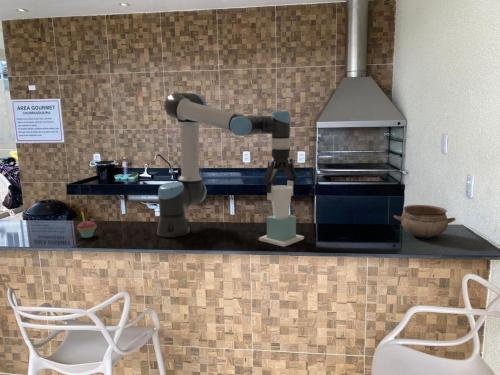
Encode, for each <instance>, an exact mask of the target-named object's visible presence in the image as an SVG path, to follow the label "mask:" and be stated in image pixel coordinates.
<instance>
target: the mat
mask: <svg viewBox="0 0 500 375" xmlns="http://www.w3.org/2000/svg"><path fill="white" fill-rule="evenodd" d="M304 239H305V235H300V234H296V236H295V237H293V238H290V239H287V240H285V241H281V240H277V239H272V238H268V237H267V234H265V235H262V236H259V237H258V241H260V242H264V243H268V244H273V245H277V246H278V247H279V246H280V247H283V248H284V247H287V246H289V245H292V244H294V243H295V244H296V243H298V242H300V241H302V240H304Z"/></svg>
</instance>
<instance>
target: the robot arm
mask: <svg viewBox="0 0 500 375" xmlns="http://www.w3.org/2000/svg"><path fill="white" fill-rule="evenodd" d="M163 106H164V110H165V113H166V114H167V115H168V116H169V117H170V118H173V119H177V123H178V125H180V160H181V161H180V167H181V168H180V169H181V170H180V174H181V175H180V176H179V177H178V178H177V180H178V181H171V182H165V183H162V185H160V186H159V187H158V189H157V190H158V193H157V196H158V207H159V220H158V222H157V228H156V235H157V236H159V237H162V238H175V237H176V238H178V237H182V236H186V235H188V234H189V233H190V226H189V223H188V220H187V218H186V212H185V209H186V208H189V207H192V206H196V205H198V204H201V203H202V202H203V201H204V200H205V198H206V196H207V192H208V191H207V190H208V189H207V187H206V185H205V183H204V182H203V177H202V176H200V144H199V143H200V126H201V124H203V125H208V126H209V127H213V128H218V129H221V130H224V131H227V132H231V133H233V135H236V136H241V137H243V136H250V135H251V136H252V135H265V134H266V135H271V147H272V149H271V157H272V158H273V160H268V162H267V168H266V170H265V175H264V177H263V180H262V184H263V185H265V186H266V193H267V194H266V200H267V201H269V202H270V201H271V202H272V201H273V186H274V184H273V183H274V181H275V180H276V178H277V175H278V174H279V173H280V172H281V171H283V172H284V174H285V176H286V177H287V179H288V180H287V182H286V186H291V187H292V194H291V197H292V196H294V187H295V186H294V183H295V182H296V181H297V179H298V175H297V172H296V170H295V166H294V160H293V158H291V157H290V152H291V151H290V147H291V136H290V135H291V134H290V133H291V116H290V112H289V111H287V110H286V111H285V110H279V111H275V110H274V111H272V112H271V115H251V116H250V115H249V116H246V115H243V114H237V113H234V112H230V111H226V110H223V109H219V108H216V107H211V106H207V102H206V100H205V99H204V97H203V96H201V95H200V94H197V93H192V92H190V93H189V92H174V93H170V94H169V95H168V96H166V98H165V100H164V103H163Z"/></svg>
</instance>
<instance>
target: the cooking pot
mask: <svg viewBox="0 0 500 375" xmlns="http://www.w3.org/2000/svg"><path fill="white" fill-rule="evenodd" d="M402 208H403V212H402V214H401V216H399V215H396V214H394V215H393V218H395V219H396V220H398V221H400V223H401V224H400V225H401V226H402V228H403V230H405V231H407V232H408V233H410V234H411V235H413V236H414V237H415V238H418V239H425V240H426V239H431V238H433V237H436V236H438V235H440V234H442V233H444V232H445V231H446V230H447V228H448V226H449V224H450V223H451V224H452V223H453V222H455V221H456V220H457V219H456V218H455V217H449V218H448V216H447V214H446V213H447V212H448V210H447V209H446V208H444V207H440V206H435V205H430V204H428V205H427V204H409V205H405V206H403V207H402Z"/></svg>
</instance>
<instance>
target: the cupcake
mask: <svg viewBox="0 0 500 375" xmlns="http://www.w3.org/2000/svg"><path fill="white" fill-rule="evenodd" d="M81 217H82V222H79V223H78V224H77V225H76V230H77V231H78V232H79V233H80V236H81V237H82V238H84V239H85V238H91V237H93V235H94V232H95V229H97V226H98V225H97V224H96V223H95V221H91V220H86V219H85V216H84V212H81Z"/></svg>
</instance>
